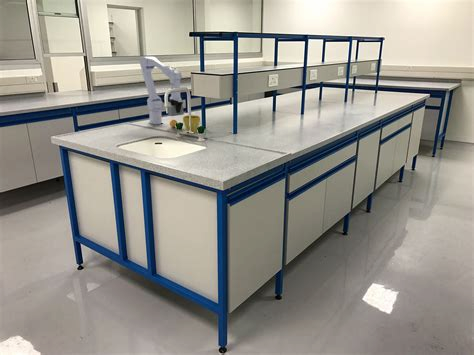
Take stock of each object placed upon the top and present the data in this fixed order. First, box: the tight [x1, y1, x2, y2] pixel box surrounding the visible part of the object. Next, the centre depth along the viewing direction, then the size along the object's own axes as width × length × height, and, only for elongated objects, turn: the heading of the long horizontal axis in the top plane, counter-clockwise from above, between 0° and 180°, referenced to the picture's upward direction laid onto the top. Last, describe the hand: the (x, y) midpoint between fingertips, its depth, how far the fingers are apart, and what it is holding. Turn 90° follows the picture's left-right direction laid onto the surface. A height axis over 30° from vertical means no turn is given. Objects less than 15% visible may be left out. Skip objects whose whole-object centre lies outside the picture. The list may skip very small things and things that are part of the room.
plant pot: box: [182, 114, 201, 133], centre depth 231 cm, size 10×10×10 cm
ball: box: [169, 119, 178, 128], centre depth 246 cm, size 5×5×5 cm
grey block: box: [167, 104, 185, 117], centre depth 244 cm, size 6×8×6 cm
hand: (176, 111), depth 245 cm, fingers closed on grey block, 6 cm apart
